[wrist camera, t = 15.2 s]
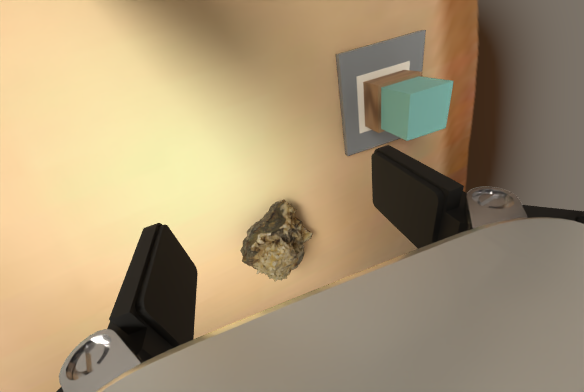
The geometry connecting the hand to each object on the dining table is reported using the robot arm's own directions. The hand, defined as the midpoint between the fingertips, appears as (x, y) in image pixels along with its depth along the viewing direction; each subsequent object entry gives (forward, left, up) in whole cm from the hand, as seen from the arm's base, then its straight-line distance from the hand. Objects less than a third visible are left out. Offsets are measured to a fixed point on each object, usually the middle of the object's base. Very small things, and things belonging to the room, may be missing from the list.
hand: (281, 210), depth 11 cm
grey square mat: (+6, +23, -28) cm, 37 cm away
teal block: (+6, +23, -23) cm, 33 cm away
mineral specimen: (+26, 0, -29) cm, 39 cm away
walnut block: (+6, +23, -27) cm, 36 cm away
